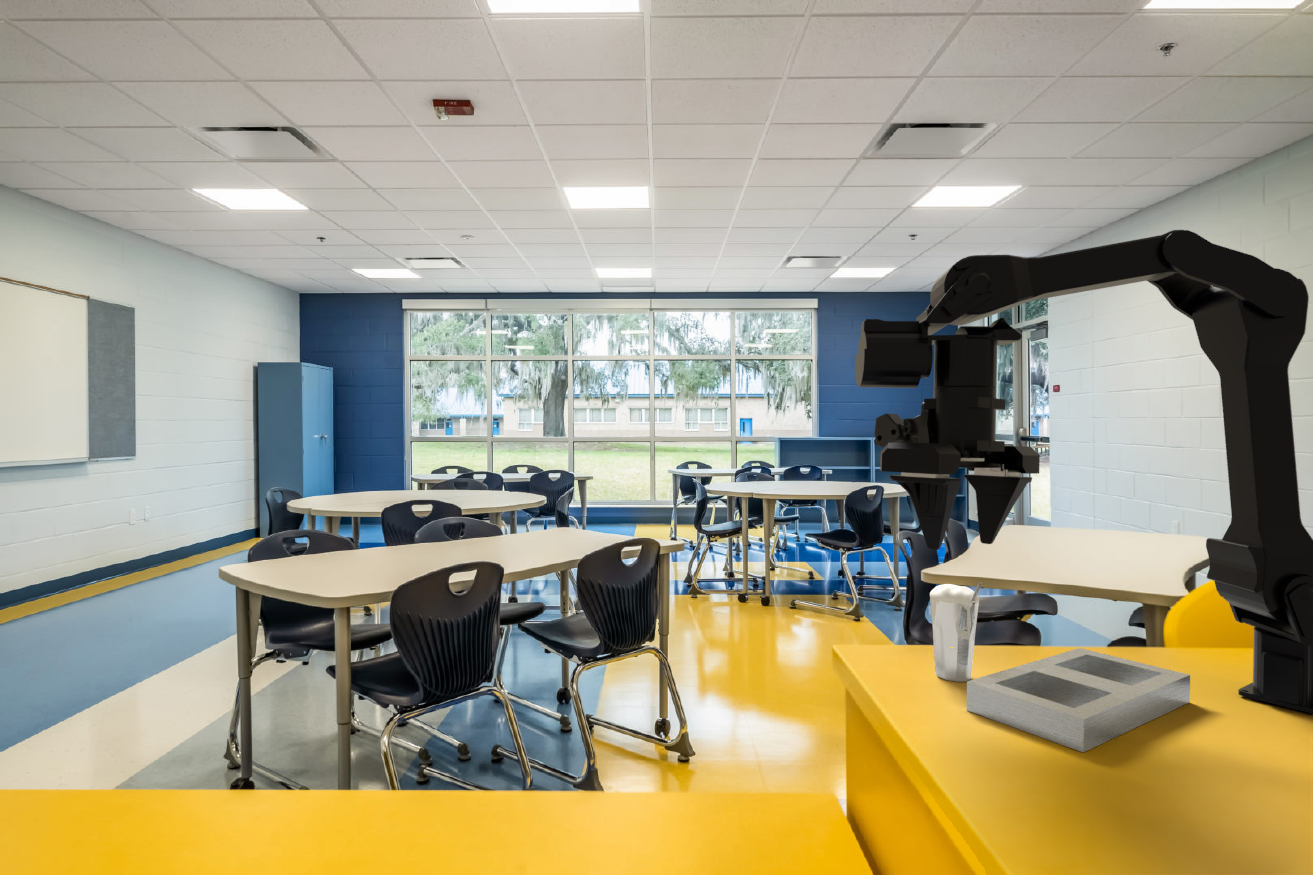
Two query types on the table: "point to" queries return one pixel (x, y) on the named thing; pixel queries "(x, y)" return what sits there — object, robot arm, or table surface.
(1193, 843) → the table surface
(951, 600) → the milkshake
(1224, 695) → the table surface
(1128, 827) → the table surface
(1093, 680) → the block
